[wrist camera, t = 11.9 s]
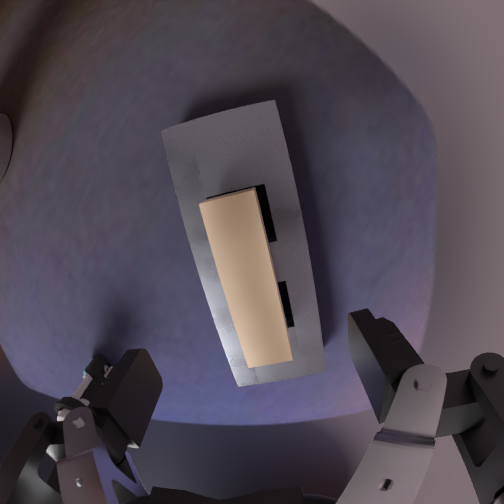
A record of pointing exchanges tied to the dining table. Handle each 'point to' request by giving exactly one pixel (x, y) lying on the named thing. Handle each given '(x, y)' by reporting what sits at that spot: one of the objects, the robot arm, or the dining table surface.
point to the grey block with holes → (280, 242)
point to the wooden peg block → (247, 275)
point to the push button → (84, 387)
